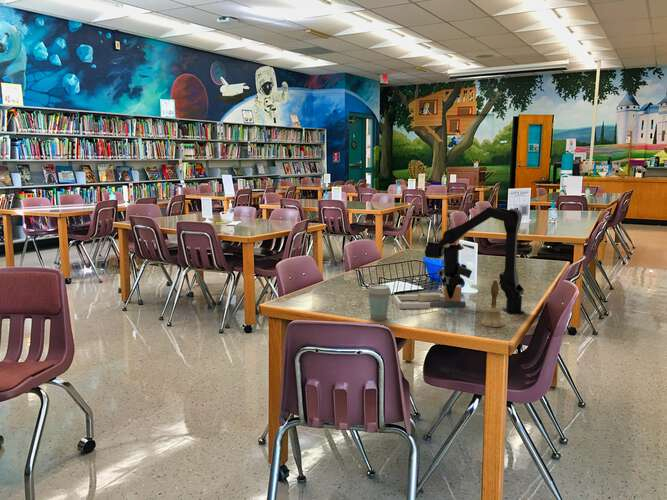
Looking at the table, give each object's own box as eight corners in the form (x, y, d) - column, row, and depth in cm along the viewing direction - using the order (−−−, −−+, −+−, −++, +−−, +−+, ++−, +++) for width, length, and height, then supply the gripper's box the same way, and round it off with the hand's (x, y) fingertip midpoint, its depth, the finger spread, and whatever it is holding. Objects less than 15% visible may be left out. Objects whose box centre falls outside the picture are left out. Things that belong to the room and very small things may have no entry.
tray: (429, 308, 232) (429, 303, 231) (399, 308, 231) (399, 303, 230) (421, 299, 246) (421, 294, 245) (393, 299, 245) (393, 294, 244)
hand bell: (486, 319, 216) (488, 277, 214) (508, 323, 211) (510, 280, 208) (476, 324, 210) (478, 281, 207) (498, 328, 205) (501, 284, 202)
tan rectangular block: (461, 304, 237) (462, 288, 236) (440, 305, 236) (441, 288, 235) (457, 301, 243) (458, 284, 242) (436, 301, 242) (437, 284, 241)
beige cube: (439, 304, 237) (440, 294, 237) (430, 304, 237) (430, 295, 236) (437, 302, 241) (437, 292, 240) (427, 302, 241) (428, 292, 240)
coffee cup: (388, 314, 222) (389, 284, 220) (391, 321, 213) (392, 289, 211) (366, 314, 221) (366, 284, 219) (368, 321, 213) (368, 289, 211)
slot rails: (465, 306, 234) (465, 302, 234) (428, 307, 233) (428, 302, 233) (457, 299, 245) (457, 295, 245) (422, 300, 244) (422, 296, 244)
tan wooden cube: (430, 304, 237) (430, 295, 236) (420, 304, 237) (420, 295, 236) (427, 302, 241) (428, 292, 240) (418, 302, 241) (418, 292, 240)
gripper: (477, 263, 228) (475, 302, 230) (463, 255, 246) (462, 291, 249) (449, 264, 227) (448, 303, 230) (437, 255, 245) (436, 292, 248)
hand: (449, 297), depth 239 cm, fingers closed on tan rectangular block, 3 cm apart
